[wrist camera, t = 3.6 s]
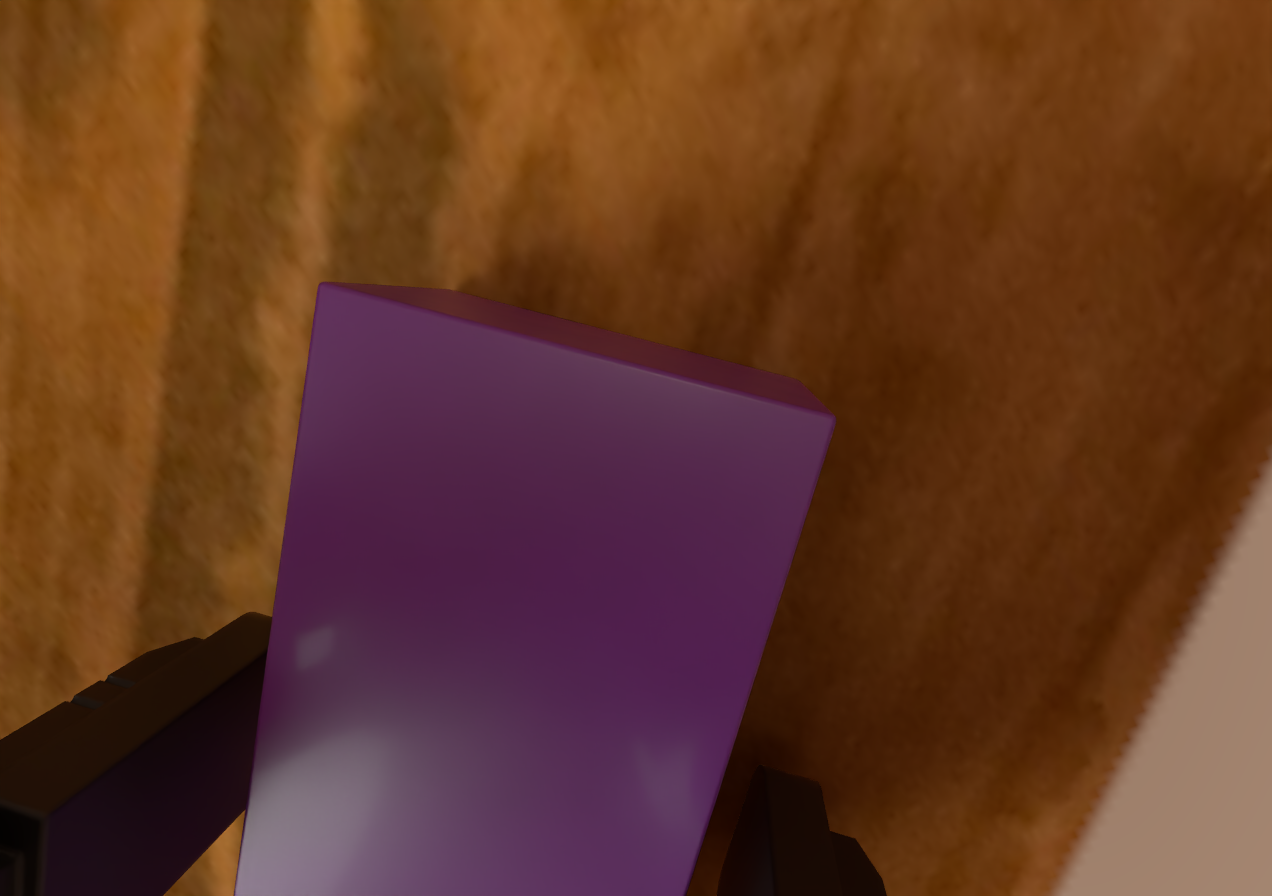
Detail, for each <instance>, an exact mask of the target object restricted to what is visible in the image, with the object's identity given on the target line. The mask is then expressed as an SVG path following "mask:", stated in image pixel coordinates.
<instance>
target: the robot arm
mask: <svg viewBox="0 0 1272 896" xmlns="http://www.w3.org/2000/svg"><path fill="white" fill-rule="evenodd" d="M271 624H272V617H269V616H266V615H263V614H259V613H256V612H249V613H246V614H244V615H242V616H240V617H239V618H237V619H236V620H234V621H233V622H231V623H229V624H228V625H226V626H225V627H223V628H222V629H220V630H219V631H217V632H215V633H214V634H212V635H211V636H209V637H208V638H206V639H204V640H203V639H200V638H196V637H193V638H190V639H187V640H184V641H181V642H177V643H174V644H171V645H168V646H165V647H162V648H158V649H155V650H152V651H149V652H147V653H145V654H143V655H141V656H140V657H138V658H136V659H135V660H133V661H131V662H130V663H128V664H126V665H125V666H123V667H121V668H120V669H118V670H116V671H115V672H113V673H111V674H110V675H108V677H107V679H106V680H105V681H101V680H100V681H98V682H96V683H95V684H93V685H91V686H90V687H88V688H86V689H85V690H83V691H81V692H80V693H78V694H76V695H75V696H74V698H73V700H72V701H71V702H66V701H65V702H63V703H61V704H60V705H58V706H56V707H55V708H53V709H51V710H50V711H48V712H46V713H45V714H43V715H41V716H40V717H38V718H36V719H35V720H33V721H31V722H29V723H28V724H26V725H24V726H23V727H21V728H19V729H18V730H16V731H14V732H13V733H11V734H9V735H8V736H6V737H4V738H3V739H1V740H0V896H163V895H164V894H165V893H166V892H167V891H168V890H169V889H170V888H171V887H172V885H173V884H174V883H175V882H176V881H177V880H178V879H179V878H180V877H181V876H182V875H183V874H184V873H185V872H186V871H187V870H188V869H189V868H190V867H191V866H192V865H193V863H194V862H195V861H196V860H197V859H198V858H199V857H200V856H201V855H202V854H203V853H204V852H205V851H206V850H207V849H208V848H209V847H210V846H211V845H212V844H213V842H214V841H215V840H216V839H217V838H218V837H219V836H220V835H221V834H222V833H223V832H224V831H225V830H226V829H227V828H228V827H229V826H230V825H231V824H232V823H233V822H234V820H235V819H236V818H237V817H238V816H239V815H240V814H241V813H242V812H243V811H244V810H245V809H246V804H247V797H248V790H249V782H250V775H251V768H252V761H253V754H254V746H255V739H256V732H257V725H258V717H259V710H260V703H261V696H262V689H263V681H264V674H265V667H266V660H267V652H268V645H269V638H270V631H271ZM717 896H887V894H886V891H885V887H884V884H883V880H882V878H881V876H880V875H879V873H878V872H877V870H876V869H875V867H874V866H873V864H872V863H871V861H870V860H869V858H868V857H867V855H866V854H865V852H864V851H863V849H862V848H861V846H860V845H859V843H858V842H857V840H856V839H855V838H852V837H848V836H845V835H842V834H838V833H835V832H832V831H830V829H829V824H828V820H827V815H826V810H825V805H824V800H823V795H822V790H821V786H820V784H819V783H818V782H817V781H815V780H811V779H808V778H805V777H801V776H798V775H794V774H791V773H788V772H784V771H781V770H778V769H774V768H771V767H768V766H764V765H761V764H760V765H758V766H757V768H756V769H755V771H754V774H753V776H752V779H751V781H750V785H749V788H748V791H747V794H746V797H745V800H744V803H743V806H742V809H741V812H740V815H739V818H738V821H737V824H736V827H735V830H734V833H733V836H732V839H731V842H730V845H729V848H728V852H727V855H726V858H725V861H724V864H723V868H722V871H721V876H720V880H719V885H718V891H717Z"/></svg>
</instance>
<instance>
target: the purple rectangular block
mask: <svg viewBox="0 0 1272 896" xmlns="http://www.w3.org/2000/svg"><path fill="white" fill-rule="evenodd" d="M835 425H836V416H835V415H834V414H833V413H832V412H831V411H829V410H828V409H827V408H826V407H825V406H824V405H823V404H822V403H821V402H820V401H819V400H818V399H817V398H816V397H815V396H814V395H813V394H812V393H811V392H810V391H809V390H808V389H807V388H806V387H805V386H804V385H803V384H802V383H801V382H800V381H799V380H797V379H794V378H790V377H786V376H782V375H778V374H774V373H771V372H767V371H763V370H759V369H755V368H751V367H747V366H743V365H740V364H736V363H732V362H728V361H724V360H720V359H716V358H713V357H709V356H705V355H701V354H697V353H693V352H689V351H685V350H682V349H678V348H674V347H670V346H666V345H662V344H658V343H655V342H651V341H647V340H643V339H639V338H635V337H631V336H627V335H624V334H620V333H616V332H612V331H608V330H604V329H600V328H596V327H593V326H589V325H585V324H581V323H577V322H573V321H569V320H566V319H562V318H558V317H554V316H550V315H546V314H542V313H538V312H535V311H531V310H527V309H523V308H519V307H515V306H511V305H508V304H504V303H500V302H496V301H492V300H488V299H484V298H480V297H477V296H473V295H469V294H465V293H461V292H457V291H453V290H449V289H433V288H418V287H402V286H386V285H370V284H354V283H339V282H321V283H320V284H319V286H318V292H317V299H316V306H315V313H314V320H313V328H312V335H311V342H310V349H309V357H308V364H307V371H306V378H305V385H304V393H303V400H302V407H301V414H300V421H299V429H298V436H297V443H296V450H295V458H294V465H293V472H292V479H291V486H290V494H289V501H288V508H287V515H286V523H285V530H284V537H283V544H282V551H281V559H280V566H279V573H278V580H277V588H276V595H275V602H274V609H273V616H272V624H271V631H270V638H269V645H268V652H267V660H266V667H265V674H264V681H263V689H262V696H261V703H260V710H259V717H258V725H257V732H256V739H255V746H254V754H253V761H252V768H251V775H250V782H249V790H248V797H247V804H246V811H245V818H244V826H243V833H242V840H241V847H240V855H239V862H238V869H237V876H236V883H235V891H234V896H686V894H687V891H688V888H689V884H690V881H691V878H692V875H693V872H694V869H695V865H696V862H697V859H698V856H699V853H700V850H701V847H702V843H703V840H704V837H705V834H706V831H707V828H708V825H709V821H710V818H711V815H712V812H713V809H714V806H715V803H716V799H717V796H718V793H719V790H720V787H721V784H722V780H723V777H724V774H725V771H726V768H727V765H728V762H729V758H730V755H731V752H732V749H733V746H734V743H735V740H736V736H737V733H738V730H739V727H740V724H741V721H742V718H743V714H744V711H745V708H746V705H747V702H748V699H749V695H750V692H751V689H752V686H753V683H754V680H755V677H756V673H757V670H758V667H759V664H760V661H761V658H762V655H763V651H764V648H765V645H766V642H767V639H768V636H769V632H770V629H771V626H772V623H773V620H774V617H775V614H776V610H777V607H778V604H779V601H780V598H781V595H782V592H783V588H784V585H785V582H786V579H787V576H788V573H789V570H790V566H791V563H792V560H793V557H794V554H795V551H796V547H797V544H798V541H799V538H800V535H801V532H802V529H803V525H804V522H805V519H806V516H807V513H808V510H809V507H810V503H811V500H812V497H813V494H814V491H815V488H816V485H817V481H818V478H819V475H820V472H821V469H822V466H823V462H824V459H825V456H826V453H827V450H828V447H829V444H830V440H831V437H832V434H833V431H834V428H835Z"/></svg>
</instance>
